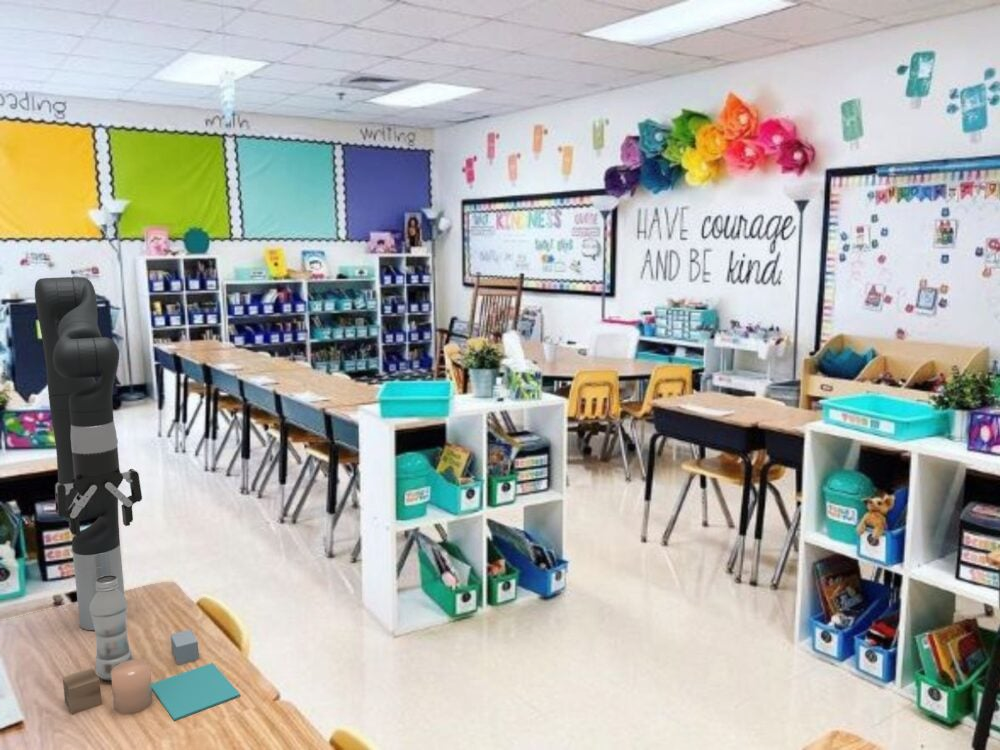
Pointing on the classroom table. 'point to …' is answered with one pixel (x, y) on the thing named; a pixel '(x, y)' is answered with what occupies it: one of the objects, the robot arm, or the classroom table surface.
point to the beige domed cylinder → (131, 686)
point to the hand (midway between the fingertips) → (102, 530)
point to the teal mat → (194, 691)
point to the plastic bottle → (109, 626)
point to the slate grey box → (184, 647)
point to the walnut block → (82, 691)
